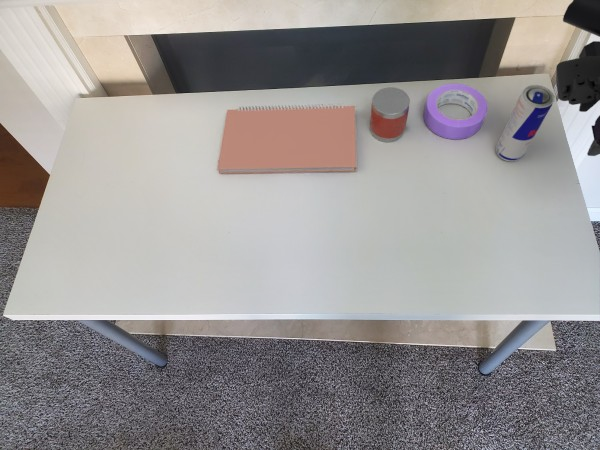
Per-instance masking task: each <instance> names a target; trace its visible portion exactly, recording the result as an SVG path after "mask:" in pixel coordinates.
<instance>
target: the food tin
mask: <svg viewBox="0 0 600 450" xmlns="http://www.w3.org/2000/svg"><path fill="white" fill-rule="evenodd" d="M410 102H411V99H410V96H409V95H408V94H407V92H406V91H405V90H404V89H401V88H399V87H391V86H390V87H383V88H381V89H379V90H378V91H376V92H375V93H374V94H373V95H372V100H371V106H370V107H371V109H370V120H369V121H370V122H369V131H370V134H371V136H372V137H373V138H374V139H375V140H377V141H379V142H382V143H394V142H397V141H398V140H400V139H401V138H403V136H404V134H405V132H406V127H407V122H408V116H409V111H410V104H411V103H410Z"/></svg>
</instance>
